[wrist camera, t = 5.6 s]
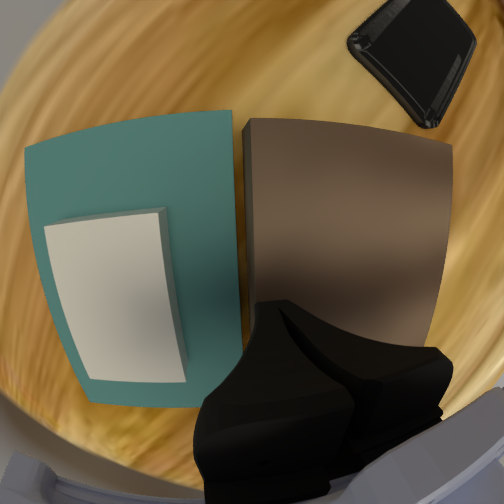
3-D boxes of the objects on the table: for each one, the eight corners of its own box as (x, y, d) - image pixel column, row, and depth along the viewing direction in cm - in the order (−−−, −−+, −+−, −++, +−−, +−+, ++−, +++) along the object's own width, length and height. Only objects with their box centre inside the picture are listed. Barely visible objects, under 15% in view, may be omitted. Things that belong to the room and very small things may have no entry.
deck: (389, 361, 18) (409, 384, 15) (252, 390, 17) (259, 423, 14) (419, 145, 13) (452, 145, 11) (242, 130, 12) (250, 118, 9)
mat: (245, 400, 17) (246, 403, 17) (90, 399, 16) (89, 401, 15) (231, 111, 12) (231, 109, 12) (27, 147, 10) (24, 147, 10)
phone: (345, 40, 11) (420, -26, 8) (337, 47, 12) (413, -21, 9) (433, 136, 13) (479, 40, 11) (422, 137, 14) (471, 43, 12)
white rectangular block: (89, 378, 12) (99, 359, 14) (186, 382, 13) (188, 360, 15) (43, 226, 10) (63, 219, 12) (158, 212, 11) (166, 206, 12)
